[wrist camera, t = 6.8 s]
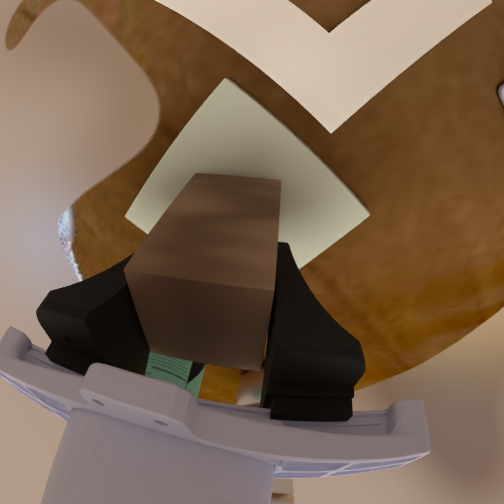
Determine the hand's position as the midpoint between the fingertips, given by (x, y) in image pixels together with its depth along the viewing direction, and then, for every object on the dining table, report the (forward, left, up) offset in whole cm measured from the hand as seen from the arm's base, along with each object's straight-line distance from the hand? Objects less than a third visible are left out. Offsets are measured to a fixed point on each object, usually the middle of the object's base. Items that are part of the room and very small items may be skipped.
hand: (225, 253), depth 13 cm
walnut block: (0, 0, -3) cm, 3 cm away
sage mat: (0, 0, -5) cm, 5 cm away
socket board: (+7, -14, -5) cm, 16 cm away
